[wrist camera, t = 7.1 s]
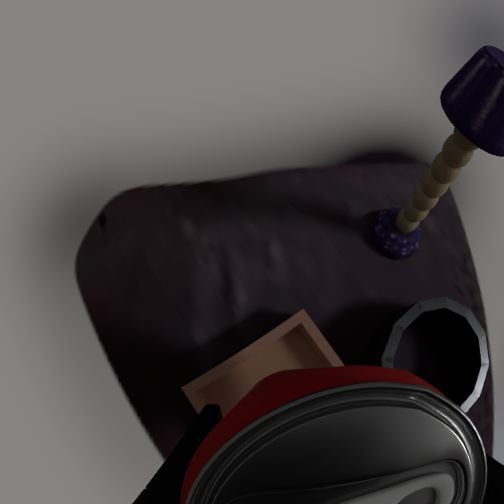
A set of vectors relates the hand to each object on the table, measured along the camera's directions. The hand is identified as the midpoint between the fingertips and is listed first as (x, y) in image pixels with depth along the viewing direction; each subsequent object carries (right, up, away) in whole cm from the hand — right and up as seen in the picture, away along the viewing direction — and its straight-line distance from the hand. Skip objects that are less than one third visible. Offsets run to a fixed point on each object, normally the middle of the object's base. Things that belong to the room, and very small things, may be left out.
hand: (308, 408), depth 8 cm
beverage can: (0, -4, +6) cm, 7 cm away
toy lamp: (+10, +6, +15) cm, 19 cm away
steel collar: (+10, -4, +11) cm, 15 cm away
